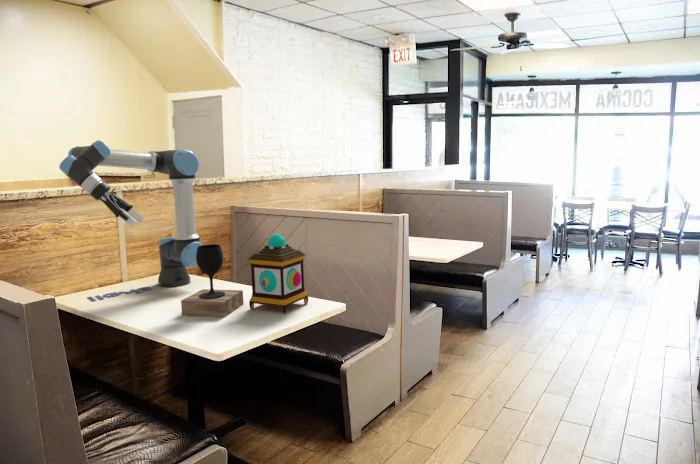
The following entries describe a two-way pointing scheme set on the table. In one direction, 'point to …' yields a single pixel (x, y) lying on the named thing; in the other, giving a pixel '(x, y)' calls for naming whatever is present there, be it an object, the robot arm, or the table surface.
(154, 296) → the table surface
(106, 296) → the signage
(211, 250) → the wine glass
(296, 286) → the decorative lantern
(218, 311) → the walnut block
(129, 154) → the robot arm
